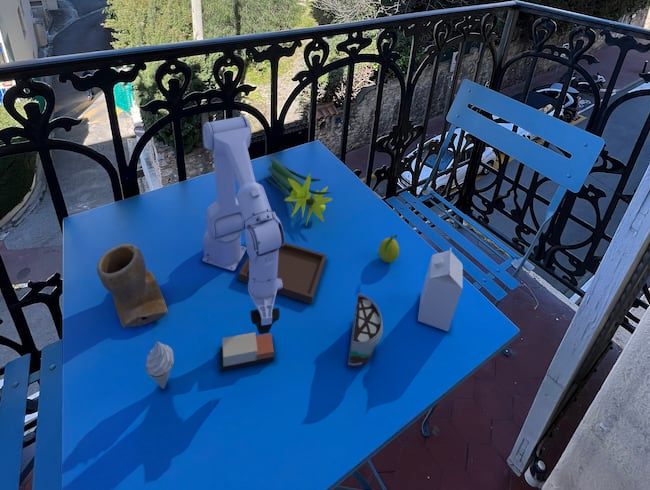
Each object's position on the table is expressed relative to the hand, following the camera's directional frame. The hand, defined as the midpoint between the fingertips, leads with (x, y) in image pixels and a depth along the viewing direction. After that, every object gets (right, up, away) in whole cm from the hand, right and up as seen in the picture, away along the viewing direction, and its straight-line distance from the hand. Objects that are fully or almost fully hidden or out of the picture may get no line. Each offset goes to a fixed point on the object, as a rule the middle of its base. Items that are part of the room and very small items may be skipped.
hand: (261, 314), depth 86 cm
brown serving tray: (+3, 0, +21) cm, 21 cm away
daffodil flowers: (+3, +10, +44) cm, 46 cm away
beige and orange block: (-3, -9, +1) cm, 10 cm away
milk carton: (+41, -7, +13) cm, 43 cm away
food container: (+22, -10, +4) cm, 25 cm away
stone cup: (-31, -3, +9) cm, 33 cm away
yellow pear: (+32, 0, +26) cm, 41 cm away
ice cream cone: (-19, -11, -6) cm, 23 cm away
